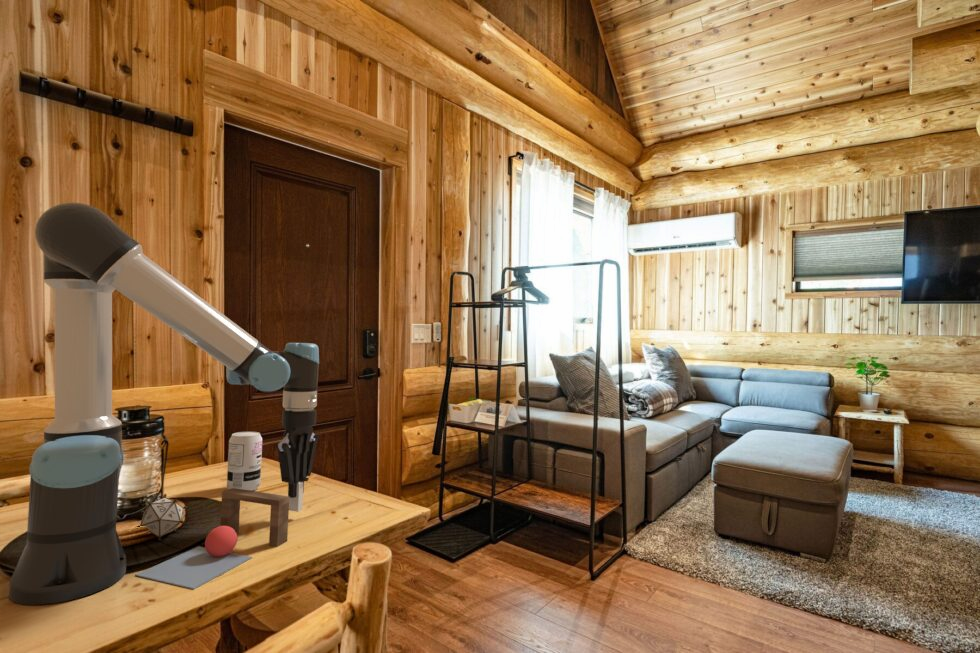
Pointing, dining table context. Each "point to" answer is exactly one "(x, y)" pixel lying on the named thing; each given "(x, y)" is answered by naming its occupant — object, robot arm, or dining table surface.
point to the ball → (221, 541)
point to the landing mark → (193, 568)
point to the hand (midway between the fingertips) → (295, 509)
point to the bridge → (277, 502)
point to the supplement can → (244, 461)
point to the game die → (162, 516)
